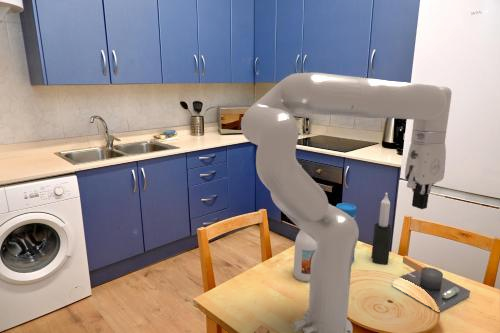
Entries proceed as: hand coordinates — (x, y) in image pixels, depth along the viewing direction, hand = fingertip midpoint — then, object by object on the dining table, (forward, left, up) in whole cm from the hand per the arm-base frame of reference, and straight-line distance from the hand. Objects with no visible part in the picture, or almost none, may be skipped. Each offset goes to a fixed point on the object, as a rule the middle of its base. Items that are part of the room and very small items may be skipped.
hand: (419, 207), depth 90 cm
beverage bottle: (+3, +28, -29) cm, 41 cm away
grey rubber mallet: (+12, +5, -27) cm, 30 cm away
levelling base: (+12, +1, -29) cm, 31 cm away
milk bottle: (-15, +26, -29) cm, 42 cm away
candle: (+14, +21, -29) cm, 39 cm away
